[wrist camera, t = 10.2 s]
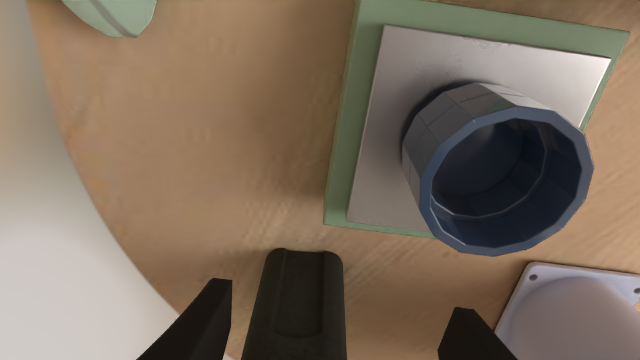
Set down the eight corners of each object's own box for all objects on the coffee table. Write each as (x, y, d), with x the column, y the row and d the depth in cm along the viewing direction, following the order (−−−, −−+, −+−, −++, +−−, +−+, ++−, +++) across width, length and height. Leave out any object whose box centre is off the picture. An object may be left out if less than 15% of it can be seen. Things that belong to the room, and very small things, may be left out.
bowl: (505, 209, 17) (551, 264, 14) (386, 193, 17) (401, 245, 13) (555, 91, 15) (628, 121, 11) (416, 71, 14) (444, 95, 11)
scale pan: (517, 235, 19) (524, 245, 18) (345, 213, 18) (345, 222, 18) (599, 54, 15) (613, 57, 14) (381, 22, 14) (384, 23, 14)
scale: (510, 221, 22) (535, 252, 19) (323, 197, 22) (322, 225, 19) (596, 28, 17) (644, 33, 15) (356, -8, 17) (361, -10, 14)
